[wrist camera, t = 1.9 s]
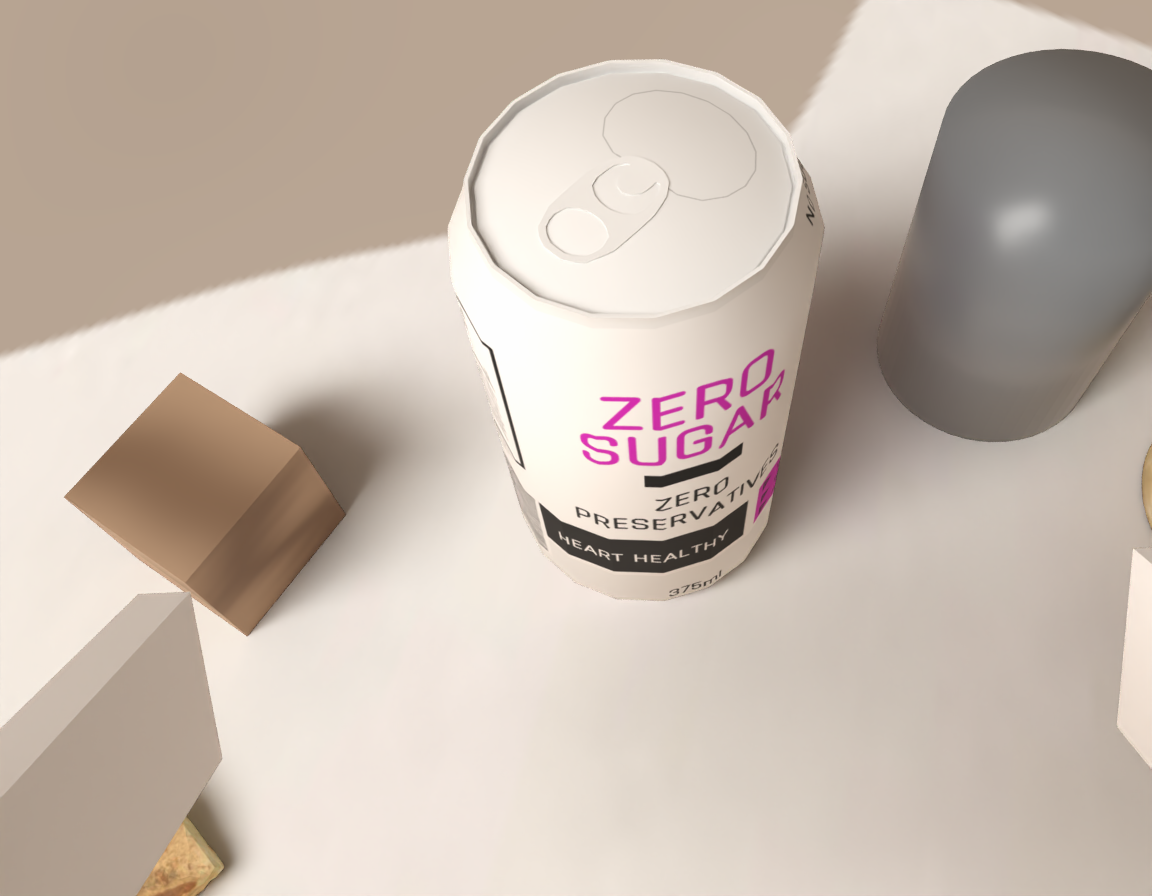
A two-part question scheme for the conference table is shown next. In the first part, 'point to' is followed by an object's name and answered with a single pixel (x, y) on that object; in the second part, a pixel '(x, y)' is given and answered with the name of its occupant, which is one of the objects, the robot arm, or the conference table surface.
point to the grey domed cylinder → (1024, 245)
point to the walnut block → (211, 501)
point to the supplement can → (638, 315)
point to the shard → (183, 865)
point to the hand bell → (1147, 485)
